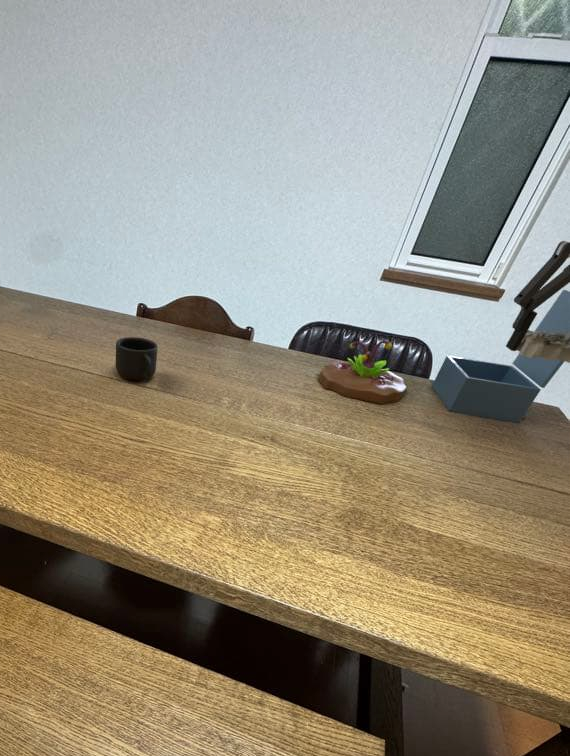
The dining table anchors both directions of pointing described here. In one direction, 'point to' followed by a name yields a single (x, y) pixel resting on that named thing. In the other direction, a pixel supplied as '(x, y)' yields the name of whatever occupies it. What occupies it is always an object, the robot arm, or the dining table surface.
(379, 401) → the plant
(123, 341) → the mug
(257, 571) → the dining table surface
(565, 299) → the lid
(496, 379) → the chest
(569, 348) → the egg carton
